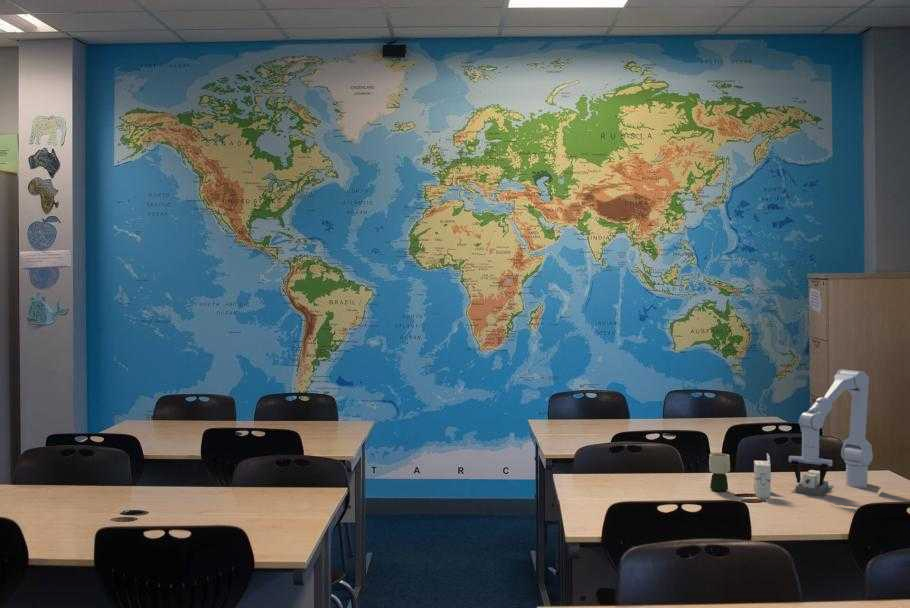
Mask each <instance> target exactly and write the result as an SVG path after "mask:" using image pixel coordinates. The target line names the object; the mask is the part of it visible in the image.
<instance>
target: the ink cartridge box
mask: <svg viewBox="0 0 910 608" xmlns="http://www.w3.org/2000/svg"><path fill="white" fill-rule="evenodd" d="M766 459H767V460H753V470H754V471H753V491H754V492H755V493H754V495H755V497H756V498H758V499H759V498H760V499H771V493H772V492H771V490H772V489H771V482H772V481H771V479H772V478H771V477H772V476H771V474H772V473H771V471H772V470H771V467H772V466H771V465H772V464H771V457H770V455H769V453H768V452H767V453H766Z"/></svg>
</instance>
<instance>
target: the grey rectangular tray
mask: <svg viewBox="0 0 910 608" xmlns="http://www.w3.org/2000/svg"><path fill="white" fill-rule="evenodd" d="M834 487H835V485H829V481H827V480H824V481H823V485H822V486H820V485H819V484H817V489H816V488H808V487H802V481H800V483H797V484H796V486H795V488H794V489H793V490H792V491H791V492H790V493H791V494H799V495H807V496H816V497H822V498H823V497H824V496H826V494H828V493H829V492H830V491H831V490H832V489H833V488H834Z"/></svg>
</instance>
